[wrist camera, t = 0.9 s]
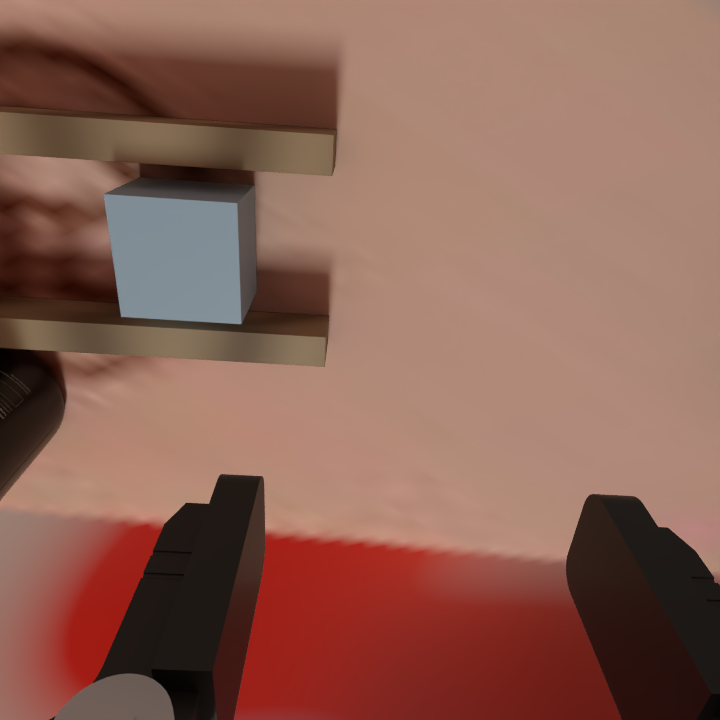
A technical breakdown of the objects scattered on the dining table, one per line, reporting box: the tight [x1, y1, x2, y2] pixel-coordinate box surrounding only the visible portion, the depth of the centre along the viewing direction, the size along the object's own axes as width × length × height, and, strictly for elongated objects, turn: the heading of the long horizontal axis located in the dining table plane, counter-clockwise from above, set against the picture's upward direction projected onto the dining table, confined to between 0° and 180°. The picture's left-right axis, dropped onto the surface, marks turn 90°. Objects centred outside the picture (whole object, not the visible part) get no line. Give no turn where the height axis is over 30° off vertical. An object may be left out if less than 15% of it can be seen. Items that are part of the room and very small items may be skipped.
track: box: [0, 106, 336, 367], centre depth 24 cm, size 20×10×4 cm, turn 86°
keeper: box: [104, 177, 257, 324], centre depth 24 cm, size 5×5×4 cm
